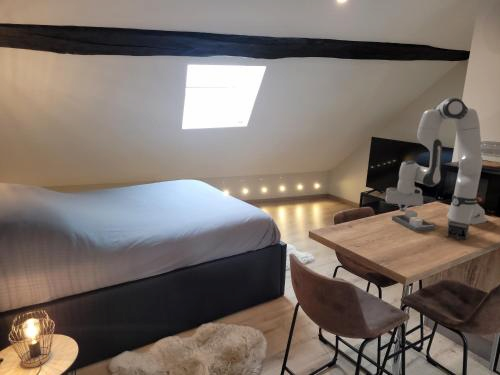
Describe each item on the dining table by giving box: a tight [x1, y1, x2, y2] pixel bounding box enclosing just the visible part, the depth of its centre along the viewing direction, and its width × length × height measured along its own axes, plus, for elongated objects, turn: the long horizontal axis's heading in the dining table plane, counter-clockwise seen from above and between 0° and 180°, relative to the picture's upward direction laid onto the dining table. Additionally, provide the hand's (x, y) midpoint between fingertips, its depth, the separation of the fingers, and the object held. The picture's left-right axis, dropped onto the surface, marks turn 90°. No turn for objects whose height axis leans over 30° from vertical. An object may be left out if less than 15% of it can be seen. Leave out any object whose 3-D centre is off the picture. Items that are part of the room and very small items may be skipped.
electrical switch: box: [445, 219, 471, 241], centre depth 182 cm, size 9×5×9 cm, turn 57°
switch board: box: [391, 214, 436, 233], centre depth 200 cm, size 12×19×3 cm, turn 16°
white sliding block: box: [409, 216, 424, 227], centre depth 194 cm, size 4×5×5 cm
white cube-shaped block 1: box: [404, 209, 418, 218], centre depth 206 cm, size 4×5×5 cm
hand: (402, 211), depth 213 cm, fingers closed
